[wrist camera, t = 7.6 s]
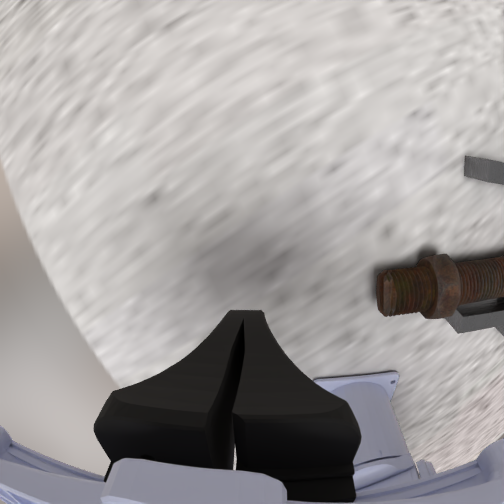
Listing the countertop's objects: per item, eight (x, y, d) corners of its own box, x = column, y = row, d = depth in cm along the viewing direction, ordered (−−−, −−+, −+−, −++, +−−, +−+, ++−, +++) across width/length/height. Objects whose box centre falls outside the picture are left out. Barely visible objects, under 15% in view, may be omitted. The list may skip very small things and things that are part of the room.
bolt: (366, 263, 23) (506, 248, 21) (371, 328, 22) (512, 302, 20) (389, 249, 17) (544, 235, 16) (396, 334, 16) (552, 299, 15)
